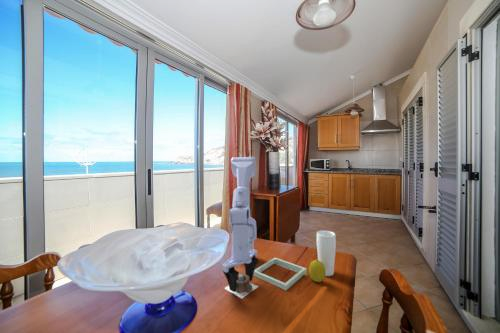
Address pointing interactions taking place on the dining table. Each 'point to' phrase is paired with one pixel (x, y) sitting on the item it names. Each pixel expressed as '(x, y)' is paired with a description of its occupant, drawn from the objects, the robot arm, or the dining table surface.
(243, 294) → the white base with peg
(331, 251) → the drinking glass
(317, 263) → the lemon
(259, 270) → the tray
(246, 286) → the ring
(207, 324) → the dining table surface
